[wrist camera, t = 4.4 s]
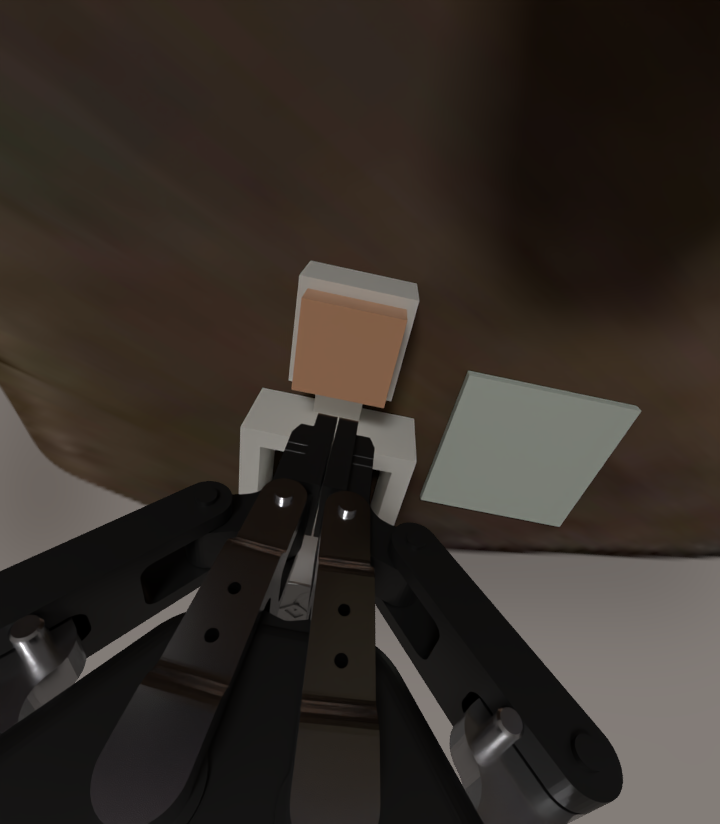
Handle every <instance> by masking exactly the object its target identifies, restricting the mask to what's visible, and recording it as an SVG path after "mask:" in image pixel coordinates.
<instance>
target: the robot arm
mask: <svg viewBox="0 0 720 824" xmlns="http://www.w3.org/2000/svg"><path fill="white" fill-rule="evenodd" d="M337 420H338V417H335V416H330V415H326V414H321V413H318V415H317V418H316V421H315V424H314V426H311V425H306V424H300V425H299V426H298V427H296V428H295V429H294V430H293V431H292V432H291V435H290V437H289V440H288V442H287V445H286V447H285V450H284V452H283V455H282V457H281V460H280V462H279V465H278V467H277V470H276V472H275V475H274V477H273V479H272V481H270V482H268V483H267V484H266V485H265V486H264V487H263V488H262V490H260V491H258V492H255V493H250V494H235V495H232V493H231V491H230V489H229V488H228V487H227V486H225V485H224V484H221V483H219V482H213V481H206V482H200V483H197V484H194V485H192V486H190V487H187V488H185V489H183V490H181V491H179V492H176V493H174V494H172V495H170V496H167V497H165V498H163V499H161V500H158V501H156V502H154V503H152V504H149V505H147V506H145V507H143V508H141V509H138V510H136V511H134V512H132V513H129V514H127V515H125V516H123V517H120V518H118V519H116V520H114V521H112V522H109V523H107V524H105V525H103V526H100V527H98V528H96V529H94V530H91V531H89V532H87V533H85V534H83V535H80V536H78V537H76V538H74V539H71V540H69V541H67V542H65V543H62V544H60V545H58V546H56V547H54V548H51V549H49V550H47V551H45V552H42V553H40V554H38V555H36V556H34V557H31V558H29V559H27V560H24V561H22V562H20V563H18V564H15V565H13V566H11V567H9V568H7V569H4V570H2V571H0V824H568V823H570V822H572V821H573V820H575V819H578V818H579V817H582V816H583V815H585V814H587V813H590V812H592V811H593V810H595V809H597V808H599V807H602V806H604V805H606V804H608V803H610V802H612V801H613V800H615V799H616V798H617V797H618V796H619V794H620V792H621V789H622V784H623V775H622V769H621V765H620V762H619V759H618V757H617V754H616V753H615V750H614V748H613V746H612V745H611V743H610V742H609V740H608V739H607V738H606V736H605V735H604V734H603V733H602V732H601V730H600V729H599V728H598V727H597V726H596V725H595V723H594V722H593V721H592V720H591V719H590V717H589V716H588V715H587V714H586V713H585V712H584V710H583V709H582V708H581V707H580V706H579V704H578V703H577V702H576V701H575V700H574V699H573V698H572V696H571V695H570V694H569V693H568V692H567V690H566V689H565V688H564V687H563V686H562V685H561V683H560V682H559V681H558V680H557V679H556V678H555V676H554V675H553V674H552V673H551V672H550V670H549V669H548V668H547V667H546V666H545V665H544V663H543V662H542V661H541V660H540V659H539V658H538V656H537V655H536V654H535V653H534V652H533V650H532V649H531V648H530V647H529V646H528V645H527V643H526V642H525V641H524V640H523V639H522V638H521V636H520V635H519V634H518V633H517V632H516V631H515V629H514V628H513V627H512V626H511V625H510V624H509V622H508V621H507V620H506V619H505V618H504V617H503V615H502V614H501V613H500V612H499V611H498V610H497V609H496V607H495V606H494V605H493V604H492V602H491V601H490V600H489V599H488V598H487V597H486V595H485V594H484V593H483V592H482V591H481V590H480V588H479V587H478V586H477V585H476V584H475V582H474V581H473V580H472V579H471V578H470V577H469V575H468V574H467V573H466V572H465V571H464V570H463V568H462V567H461V566H460V565H459V564H458V563H457V562H456V560H455V559H454V558H453V557H452V556H451V554H450V553H449V552H448V551H447V550H446V548H445V547H444V546H443V545H442V544H441V543H440V541H439V540H438V539H437V538H436V537H435V536H434V534H433V533H432V532H431V531H430V530H428V529H427V528H425V527H424V526H422V525H419V524H416V523H403V524H400V525H399V526H397V527H395V526H393V525H391V524H389V523H387V522H385V521H383V520H382V519H380V518H379V517H378V516H377V515H376V514H375V513H374V512H373V510H372V508H371V506H370V502H369V498H370V488H371V479H372V468H373V459H374V451H375V447H374V445H373V443H372V441H371V439H370V438H369V437H364V436H359V435H356V434H357V429H358V423H359V421H355V420H350V419H345V418H340V417H339V421H338V425H337ZM336 425H337V429H336ZM335 430H336V433H335ZM334 436H335V437H334ZM318 506H319V507H318ZM317 510H318V513H317ZM316 514H317V518H316ZM315 518H316V524H315V529H314V535H313V537H318V542H317V547H316V552H315V558H314V564H313V571H312V578H311V586H310V593H309V600H308V608H307V615H306V620H295V621H286V620H283V619H281V618H279V617H277V614H278V611H279V608H280V605H281V602H282V599H283V596H284V594H285V591H286V588H287V585H288V582H289V580H290V577H291V574H292V571H293V569H294V566H295V563H296V560H297V557H298V553H299V550H300V549H301V546H302V543H303V539H304V535H308V536H311V535H312V530H313V526H314V522H315ZM200 586H201V587H200ZM198 587H200V588H199V590H198V592H197V594H196V596H195V597H194V599H193V601H192V603H191V605H190V606H189V608H188V610H187V612H185V613H182V614H179V615H177V616H175V617H172V618H171V619H169V620H167V621H165V622H163V623H161V624H160V625H158V626H157V627H155V628H154V629H152V630H151V631H150V632H148V633H147V634H145V635H144V636H142V637H141V638H140V639H138V640H137V641H135V642H134V643H132V644H131V645H130V646H128V647H127V648H125V649H124V650H122V651H121V652H119V653H118V654H116V655H115V656H113V657H112V658H111V659H109V660H108V661H106V662H105V663H103V664H102V665H101V666H99V667H98V668H96V669H95V670H93V671H92V672H90V673H89V674H87V675H86V676H85V677H83V678H82V679H80V680H79V681H77V682H76V680H77V679H78V678H79V676H80V674H81V673H82V671H83V669H84V666H85V662H86V658H88V657H89V656H91V655H92V654H94V653H95V652H97V651H99V650H100V649H102V648H103V647H105V646H107V645H108V644H110V643H111V642H113V641H115V640H116V639H118V638H119V637H121V636H122V635H124V634H126V633H127V632H129V631H130V630H132V629H133V628H135V627H137V626H138V625H140V624H141V623H143V622H145V621H146V620H148V619H149V618H151V617H152V616H154V615H156V614H157V613H159V612H160V611H162V610H163V609H165V608H167V607H168V606H170V605H171V604H173V603H175V602H176V601H178V600H179V599H181V598H182V597H184V596H186V595H187V594H189V593H190V592H192V591H194V590H195V589H197V588H198ZM375 604H376V606H377V608H378V609H379V610H380V612H381V614H382V615H383V617H384V619H385V620H386V622H387V623H388V625H389V626H390V628H391V630H392V631H393V633H394V634H395V636H396V637H397V639H398V641H399V642H400V644H401V645H402V647H403V648H404V650H405V652H406V653H407V655H408V656H409V658H410V659H411V661H412V663H413V664H414V666H415V667H416V669H417V670H418V672H419V674H420V675H421V677H422V678H423V680H424V681H425V683H426V685H427V686H428V688H429V689H430V691H431V692H432V694H433V696H434V697H435V698H436V700H437V702H438V703H439V705H440V707H441V708H442V710H443V711H444V713H445V714H446V716H447V718H448V719H449V721H450V722H451V724H452V725H453V729H452V731H451V735H450V751H451V756H452V759H453V762H454V765H455V767H456V769H457V771H458V773H459V775H460V778H461V781H462V784H461V782H460V780H459V778H458V777H457V775H456V773H455V772H454V770H453V768H452V766H451V765H450V762H449V761H448V759H447V757H446V756H445V754H444V752H443V750H442V748H441V746H440V745H439V743H438V741H437V739H436V738H435V736H434V734H433V732H432V730H431V729H430V727H429V725H428V723H427V721H426V720H425V718H424V716H423V714H422V713H421V711H420V709H419V707H418V705H417V704H416V702H415V700H414V698H413V697H412V695H411V693H410V691H409V689H408V688H407V686H406V684H405V682H404V681H403V679H402V677H401V675H400V673H399V672H398V670H397V669H396V667H395V666H394V665H393V663H392V662H391V660H390V659H389V658H388V657H387V656H386V655H385V654H384V653H383V652H382V651H381V650H380V649H378V648H377V647H376V646H375ZM75 682H76V683H75ZM462 785H463V786H462Z"/></svg>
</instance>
